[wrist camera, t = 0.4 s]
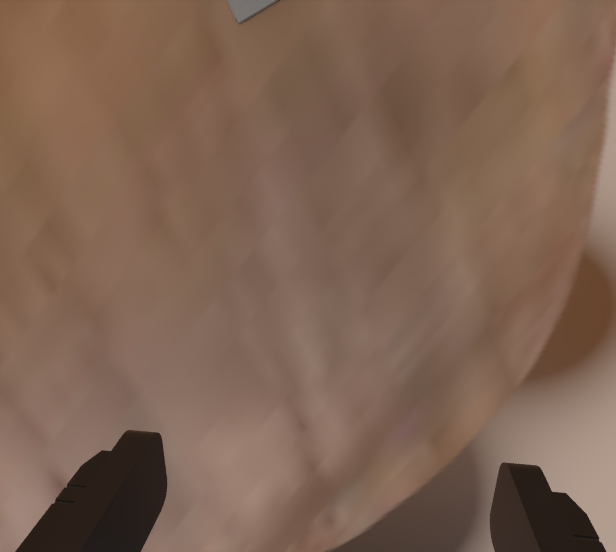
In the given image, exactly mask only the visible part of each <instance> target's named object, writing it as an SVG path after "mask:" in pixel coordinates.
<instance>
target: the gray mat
mask: <svg viewBox="0 0 616 552" xmlns="http://www.w3.org/2000/svg"><path fill="white" fill-rule="evenodd" d="M227 1H228V3H229V5H230V7H231V9H232V11H233V13H234V16H235V18H236V20H237V22H238V23H239V24H241V23H243V22H245V21H246V20H248V19H250V18H251V17H253V16H255V15H256V14H258V13H259V12H261V11H263V10H264V9H266V8H268V7H269V6H271V5H273V4H274V3H276V2H278V1H279V0H227Z"/></svg>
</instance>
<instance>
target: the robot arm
mask: <svg viewBox="0 0 616 552" xmlns="http://www.w3.org/2000/svg"><path fill="white" fill-rule="evenodd" d="M166 492H167V475H166V467H165V459H164V451H163V444H162V438H161V435H160V434H159V433H155V432H144V431H133V430H128V431H126V432H125V433H124V434H123V435H122V437H121V438H120V439H119V441H118V442H117V444H116V445H115V446H114V448H113V449H112V451H103V450H102V451H101V452H99V453H98V454H97V455H95V456H94V457H92V458H91V459H90V460H88V461H87V462H86V463H84V464H83V465H82V466H81V467H80V468H79V470H78V471H77V472H76V473H75V475H74V476H73V477H72V479H71V480H70V481H69V483H68V484H67V488H64V489H63V490H62V492H61V493H60V494H59V496H58V497H57V498H56V499H55V503H54V504H52V505H51V506H50V507H49V509H48V510H47V511H46V512H45V514H44V515H43V516H42V518H41V519H40V520H39V522H38V523H37V524H36V525H35V527H34V528H33V529H32V531H31V532H30V533H29V535H28V536H27V537H26V538H25V540H24V541H23V542H22V544H21V545H20V546H19V548H18V549H17V550H16V551H15V552H141V550H142V548H143V546H144V544H145V542H146V540H147V538H148V536H149V534H150V532H151V530H152V528H153V526H154V524H155V522H156V520H157V518H158V516H159V514H160V512H161V509H162V507H163V504H164V501H165V497H166ZM490 531H491V538H492V543H493V546H494V550H495V552H606V550H605V548H604V546H603V544H602V543H601V542H599V537H598V535H597V533H596V531H595V529H594V527H593V526H592V524H591V522H590V520H589V518H588V516H587V514H586V513H585V512H584V511H583V510H582V509H581V508H580V507H579V506H578V505H577V504H576V503H575V502H574V501H573V500H572V499H571V498H570V497H569V496H568V495H567V494H566V493H558V492H552V491H551V489H550V487H549V484H548V482H547V480H546V478H545V476H544V474H543V472H542V470H541V468H540V467H539V466H536V465H525V464H514V463H502V464H501V466H500V469H499V473H498V478H497V483H496V488H495V493H494V498H493V503H492V507H491V513H490Z"/></svg>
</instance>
